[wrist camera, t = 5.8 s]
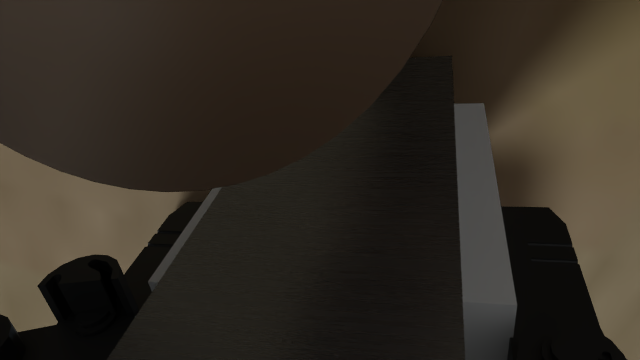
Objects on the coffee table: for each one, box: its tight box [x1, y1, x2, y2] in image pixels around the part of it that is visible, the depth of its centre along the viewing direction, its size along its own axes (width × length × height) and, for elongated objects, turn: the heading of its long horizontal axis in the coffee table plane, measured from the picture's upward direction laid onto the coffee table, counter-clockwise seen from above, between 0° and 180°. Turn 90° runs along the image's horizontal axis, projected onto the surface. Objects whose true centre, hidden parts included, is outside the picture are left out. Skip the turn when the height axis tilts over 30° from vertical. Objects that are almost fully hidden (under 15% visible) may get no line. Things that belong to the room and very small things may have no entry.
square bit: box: [107, 56, 465, 360], centre depth 10 cm, size 4×4×12 cm
